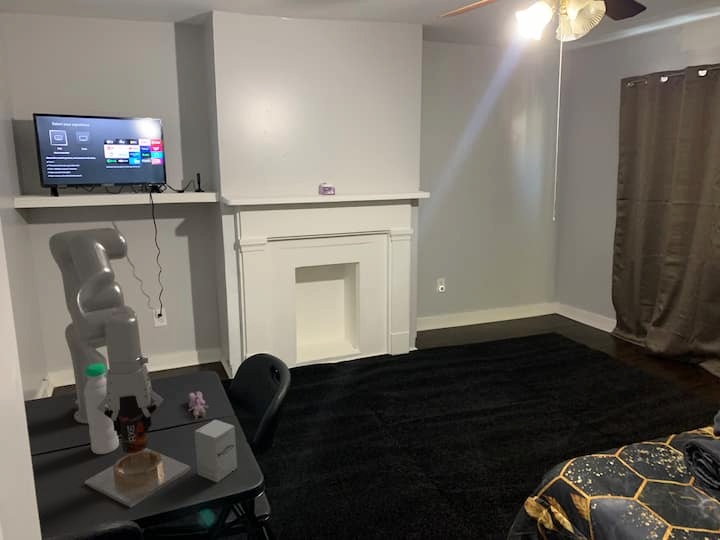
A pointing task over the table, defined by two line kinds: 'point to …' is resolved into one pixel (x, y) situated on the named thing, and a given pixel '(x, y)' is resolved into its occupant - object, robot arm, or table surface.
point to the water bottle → (99, 423)
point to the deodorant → (132, 425)
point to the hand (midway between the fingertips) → (133, 430)
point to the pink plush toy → (197, 404)
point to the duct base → (140, 490)
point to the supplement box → (215, 450)
